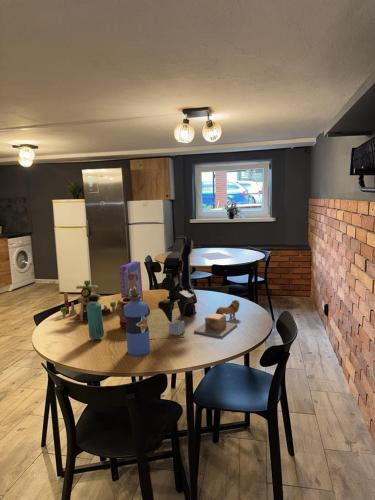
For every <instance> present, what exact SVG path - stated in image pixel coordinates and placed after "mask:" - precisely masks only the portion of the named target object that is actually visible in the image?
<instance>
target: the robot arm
mask: <svg viewBox="0 0 375 500" xmlns="http://www.w3.org/2000/svg"><path fill="white" fill-rule="evenodd" d="M193 248H194V241H193V239H191V238H187V236H176V237H175V239H174V244H173V248H172V250H171V253H169V254H167V255H166V257H165V259H164V261H163V267H162V269H163V270H162V274H163V275H165V278H163V279H162V280H161V287H162V288H163V289H164V290H166V291H168V295H167V296H166V299H162V300H160V301H159V302H157V309H160V310H162V312H163V313H164V315H165V317H166V318H167V320H168V322H169V323H170V322H172V321H173V311H174V309H175V304H176V303H177V307H178V311H179V313H180V316H184V317H192V316H194V315H195V314H197V311H196V304H198V298H197V294H196V292H195V288H194V286H193V285H192V284H191V264H190V260H191V259H190V256H191V254H192V252H193Z"/></svg>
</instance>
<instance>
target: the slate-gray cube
mask: <svg viewBox="0 0 375 500" xmlns="http://www.w3.org/2000/svg"><path fill="white" fill-rule="evenodd" d="M185 327H186V325H185V321H184V320H178V319H173V320H172V322H169V323H168V331H169V334H170V335H173V334H174V336H178V335H179V336H180V334H181V335H182V334H184V333H185V332H186V329H185Z"/></svg>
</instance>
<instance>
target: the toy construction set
mask: <svg viewBox="0 0 375 500" xmlns="http://www.w3.org/2000/svg"><path fill="white" fill-rule="evenodd" d="M83 283H84V285H76V286H75V289H80V290H81V291H80V296H78V298H77V300H78V301H77V302H78V303H80V309H79V310H80V311H79V314H78V312H77V310H76V309H75V304H74V303H75V302H71V305H69V294H68V292H66V291H65V292H63V300H64V307H61V308H60V313H62V318H63V317H65V318H67V316H66V315H68V314H69V316H71V317H73V316H75V321H80V322H83V323H88V315H87V305H88V304H89V303H92V302H89V301H88V297H89V296H91V295H97V296H98V301H94V302H98V303H99V301H100V300H101V295H100V294H97V293H96V292H94V290H95V289H98V288H99V285H97V284H96V285H91V280H89V279H88V280H84V281H83ZM109 305H110V307H111V308H112V309H110V308H109V307H108V306H107V305H103V308H101V309H102V316H108V315H109V314H111V310H112V312H115V309H116V306H117V302H116V301H111V302H110V304H109ZM70 306H71V309H70Z"/></svg>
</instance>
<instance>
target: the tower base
mask: <svg viewBox="0 0 375 500" xmlns="http://www.w3.org/2000/svg"><path fill="white" fill-rule="evenodd" d="M237 327H238V323H234V322H228V321H227V314H223V315H221V314H216V313H213V312H212V313H211V314H209V315H207V316H206V317H204V324H202V325H200V326H199V327H197V328H196V329H194V330H193V333H194V334H197V335H203V336H208V337H212V338H213V337H214V338H219V339H223V338H224V337H226V336H227V335H228V334H229V333H231V331H233V330H234V329H235V328H237Z"/></svg>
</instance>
